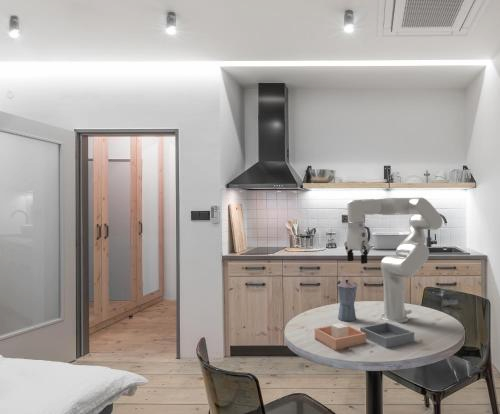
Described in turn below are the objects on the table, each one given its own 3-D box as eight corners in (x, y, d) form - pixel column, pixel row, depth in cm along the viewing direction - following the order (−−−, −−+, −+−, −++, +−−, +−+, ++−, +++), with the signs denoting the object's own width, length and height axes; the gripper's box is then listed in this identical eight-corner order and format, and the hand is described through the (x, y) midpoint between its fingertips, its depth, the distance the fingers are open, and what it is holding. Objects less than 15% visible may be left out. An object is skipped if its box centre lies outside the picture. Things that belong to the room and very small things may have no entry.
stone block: (341, 336, 158) (340, 323, 158) (348, 340, 154) (348, 326, 154) (331, 338, 156) (331, 324, 156) (338, 342, 152) (338, 328, 152)
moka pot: (348, 324, 177) (347, 282, 177) (329, 316, 191) (328, 277, 191) (364, 321, 181) (363, 280, 181) (344, 313, 195) (343, 275, 195)
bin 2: (387, 332, 165) (387, 322, 165) (414, 343, 151) (414, 332, 151) (360, 337, 159) (360, 327, 159) (386, 349, 145) (385, 338, 145)
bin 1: (343, 333, 165) (342, 323, 165) (366, 344, 151) (365, 333, 151) (314, 338, 159) (314, 328, 159) (335, 351, 145) (335, 339, 145)
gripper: (375, 226, 168) (376, 263, 168) (350, 224, 183) (351, 259, 183) (362, 227, 165) (363, 265, 165) (338, 225, 181) (339, 260, 181)
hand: (357, 262), depth 174 cm, fingers open, 9 cm apart
